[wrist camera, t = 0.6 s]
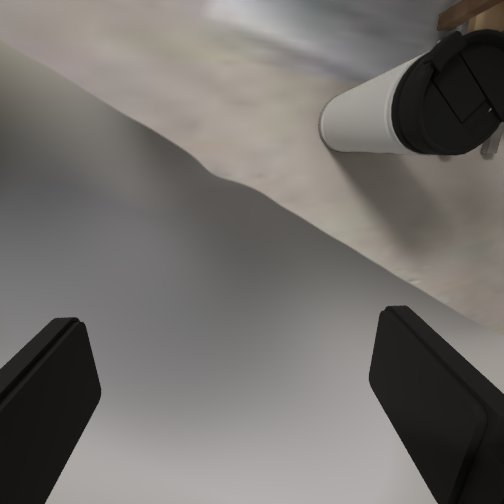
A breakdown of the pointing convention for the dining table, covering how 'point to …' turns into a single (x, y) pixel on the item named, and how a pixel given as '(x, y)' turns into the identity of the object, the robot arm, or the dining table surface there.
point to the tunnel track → (469, 7)
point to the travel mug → (424, 102)
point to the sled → (488, 19)
